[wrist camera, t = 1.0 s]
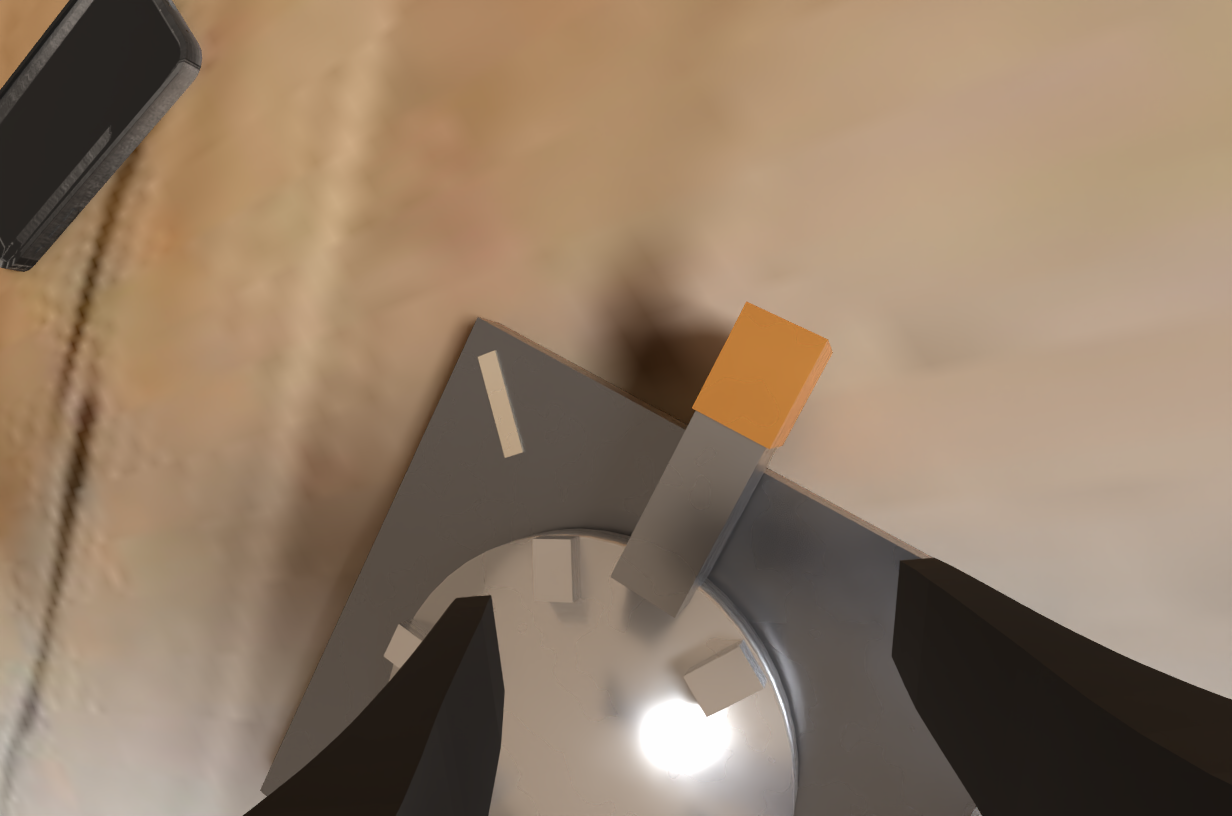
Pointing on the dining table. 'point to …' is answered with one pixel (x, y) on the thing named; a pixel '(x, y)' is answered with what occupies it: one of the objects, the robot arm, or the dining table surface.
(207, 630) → the dining table surface
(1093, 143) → the dining table surface
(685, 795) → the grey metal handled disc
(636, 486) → the base plate
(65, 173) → the phone
